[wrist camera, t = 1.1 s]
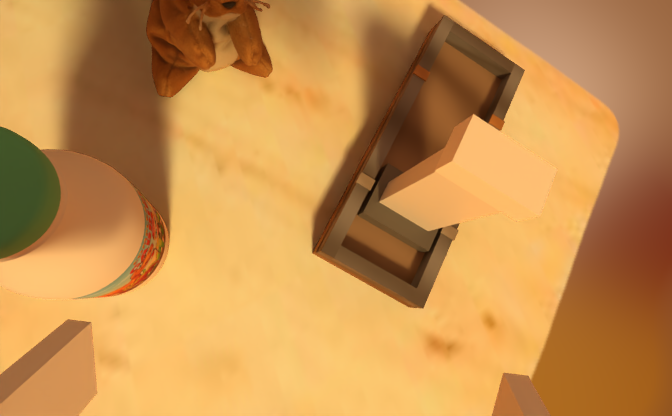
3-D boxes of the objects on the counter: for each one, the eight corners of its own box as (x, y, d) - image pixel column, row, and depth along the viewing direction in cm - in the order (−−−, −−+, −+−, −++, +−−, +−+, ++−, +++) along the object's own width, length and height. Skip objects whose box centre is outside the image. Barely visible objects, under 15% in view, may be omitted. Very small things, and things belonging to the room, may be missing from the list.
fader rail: (408, 307, 37) (425, 309, 34) (312, 253, 36) (320, 250, 33) (506, 84, 44) (526, 70, 41) (429, 32, 43) (444, 13, 40)
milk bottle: (79, 312, 31) (-157, 359, 12) (45, 215, 31) (-236, 107, 12) (184, 271, 33) (131, 254, 14) (150, 182, 33) (54, 48, 14)
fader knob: (420, 252, 37) (539, 233, 23) (357, 215, 36) (441, 172, 22) (442, 204, 38) (566, 158, 24) (381, 167, 37) (474, 98, 23)
